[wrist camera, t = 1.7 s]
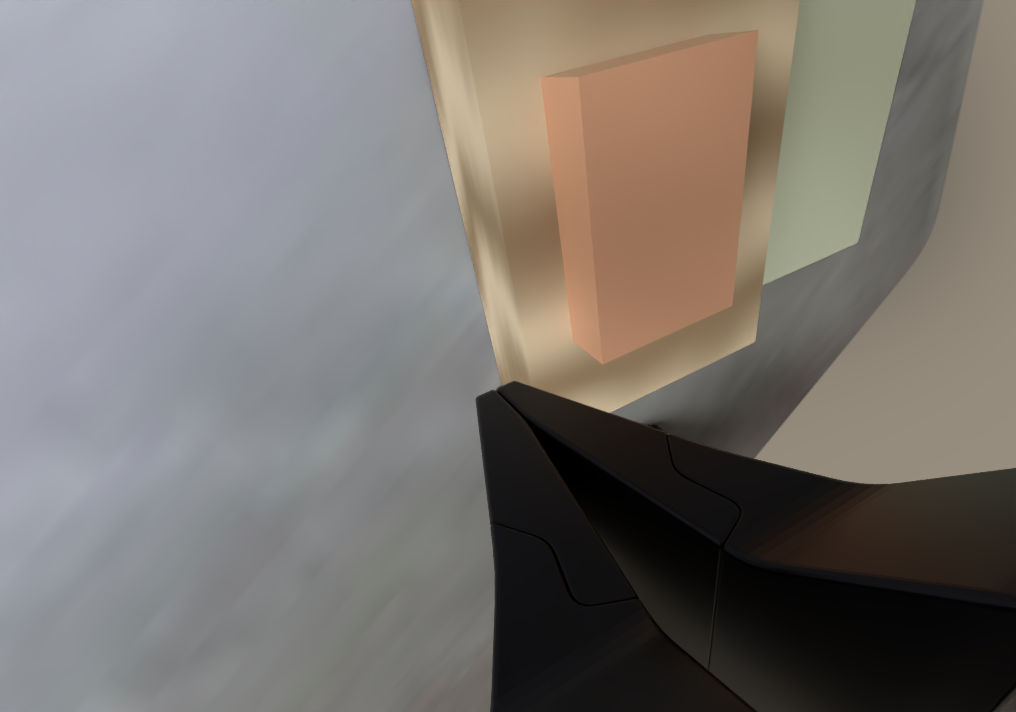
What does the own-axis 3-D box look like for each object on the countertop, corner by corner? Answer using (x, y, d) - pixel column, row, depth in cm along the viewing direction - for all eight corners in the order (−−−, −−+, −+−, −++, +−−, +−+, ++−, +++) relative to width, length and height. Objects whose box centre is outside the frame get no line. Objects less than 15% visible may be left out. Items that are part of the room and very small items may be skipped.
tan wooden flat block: (696, 311, 27) (755, 342, 24) (504, 396, 24) (543, 444, 21) (716, -132, 17) (823, -180, 14) (391, -86, 14) (433, -134, 11)
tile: (694, 288, 20) (732, 305, 19) (572, 340, 19) (602, 364, 17) (706, 34, 15) (758, 29, 14) (540, 76, 14) (578, 76, 12)
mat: (853, 241, 30) (857, 242, 30) (703, 308, 27) (706, 310, 27) (948, -164, 20) (956, -167, 20) (727, -133, 17) (734, -136, 17)
